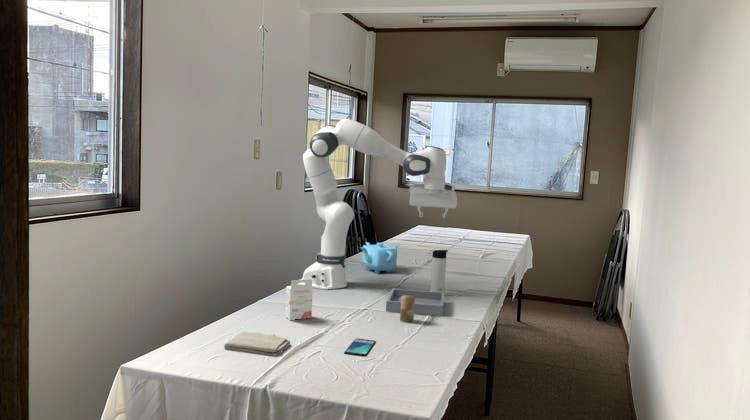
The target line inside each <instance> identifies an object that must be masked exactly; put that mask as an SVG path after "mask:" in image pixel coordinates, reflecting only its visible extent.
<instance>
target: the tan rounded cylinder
mask: <svg viewBox="0 0 750 420" xmlns="http://www.w3.org/2000/svg"><path fill="white" fill-rule="evenodd" d="M414 305H415V297H414V296H410V295H404V296H401V313H399V314H400V315H399V318H400V319H399V320H400V322H402V323H404V324H405V323H407V324H409V323H414V319H415V318H414V317H415V314H414Z"/></svg>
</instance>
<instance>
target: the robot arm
mask: <svg viewBox="0 0 750 420" xmlns="http://www.w3.org/2000/svg"><path fill="white" fill-rule="evenodd" d="M342 145H345V146H348V147H349V148H351V149H352V150H353V149H354V150H355V151H357V152H360V153H363V154H366V155H372V156H379V157H383V158H386V159H387V160H389V161H391V162H393V163H396V164H398V165H400V166H401V167H402V168H403V170H404V172H405V173H406V174H407V175H409V176H411V177H418V176H422V175H423V176H424V180H423V184H421V183H420V184H417V183H413V184H411V185H410V186H409V189H408V190H409V194H410V195H409V205H410V206H411V207H413V206H414V207H416V208H417V211H418V213H419V216H418V217H419V218H423V217H424V212H422V211H421V208H422V207H426V208H428V207H429V208H442V209H443V208H444V211H445V212H444V213H442V214H441V219H446V215H447V214H448V212H449V209H456V208H457V207H458V197H457V196H458V195H457V192H456V191H455V190H456V186H455V185H454V184H451V183H450V182H446V175H445V174H446V170H447V153H446V150H445V149H443V148H440V147H438V146H437V147H436V146H432V145H429V146H427V147H426V148H424V149H422V150H420V151H417V152H409V151H406V150H403V149H401V148H399V147H397V146H395V145H393V144H392V143H390V142H388V141H387V140H386V139H385V138H384V137H383V136H382V135H380V134H379V133H378V132H377V131H375V130H374V129H372V128H371V127H369V126H367V125H365V124H364V123H361V122H358V121H356V120H353V119H349V118H342V119H340V120H339V121H338V122H337V124H336V125H332V124H328V125H325V126H323V127H321V128H320V129H319V130H317V131H316V133H315V134H313V136H312V137H311V138H310V141H309V149H307V150H305V152H304V153H303V154H302V160H303V161H302V162H303V167H304V170H305V172H306V175H307V176H306V177H307V178H308V181H309V183H310V186H311V188H312V192H313V195H314V199H315V203H316V213H317V215H318V216H319V218H320V219H321V220H322V221H324V222H325V228H324V231H323V234H322V235H321V239H320V241H321V242H320V252H318V253H317V254H316V257H315V262H314V263H312V264H311V265H310V266H308V267H307V268H305V269H304V271H303V275H302V278H300V279H299V280H308V279H312V289H321V290H328V289H329V290H334V289H335V290H336V289H343V288H346V287H347V286H348V283H347V278H346V277H347V276H346V266H347V255H346V245H347V244H346V242H347V236H348V232H349V227H350V225H351V223H352V221H353V220H354V217H355V213H354V209H353V208H352V206H351V205H349V204H348V203H347V202H346V201H342V200H341V199H340V198H339V193H338V182H337V180H336V176H335V174H334V172H333V169H332V167H331V164H330V160H329V156H331V155H332V154H333V153H334V152H335V151H336V150H337V149H338V147H340V146H342ZM304 284H305V283H302V282H301V283H298V285H304ZM329 290H328V291H329Z"/></svg>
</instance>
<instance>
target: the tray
mask: <svg viewBox="0 0 750 420" xmlns="http://www.w3.org/2000/svg"><path fill="white" fill-rule="evenodd" d="M404 295H410V296H414V297H415V305H414V315H422V316H423V315H424V316H436V317H443V313H444V304H445V303H444V301H445V300H444V299H445V292H444V293H442V292H430V290H428V291H427V290H419V289H417V290H415V289H405V288H404V289H403V288H394V287H393V288H392V289H391V290H390V293H389V295H388V297H387V299H386V301H385V304H386V305H385V312H389V313H398V314H400V313H401V296H404Z"/></svg>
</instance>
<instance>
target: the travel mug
mask: <svg viewBox="0 0 750 420" xmlns="http://www.w3.org/2000/svg"><path fill="white" fill-rule="evenodd" d="M447 253H448V249H436V250H433V251H432V256H431V257H432V258H431V271H430V283H429V285H430V286H429V287H430V288H429V291H430V292H442V293H444V294H445V288H446V287H445V286H446V285H445V284H446V270H447V269H446V268H447Z"/></svg>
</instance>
